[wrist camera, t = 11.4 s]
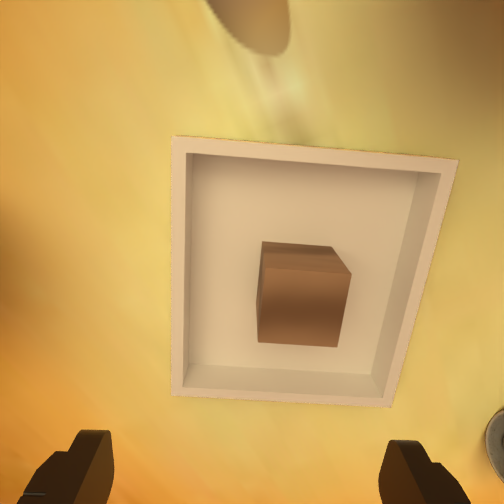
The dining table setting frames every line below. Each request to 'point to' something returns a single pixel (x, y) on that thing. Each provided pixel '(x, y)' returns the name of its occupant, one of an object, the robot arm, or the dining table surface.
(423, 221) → the tray
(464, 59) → the dining table surface
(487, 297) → the dining table surface
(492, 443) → the grey barrel
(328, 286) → the cube
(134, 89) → the dining table surface
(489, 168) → the dining table surface
